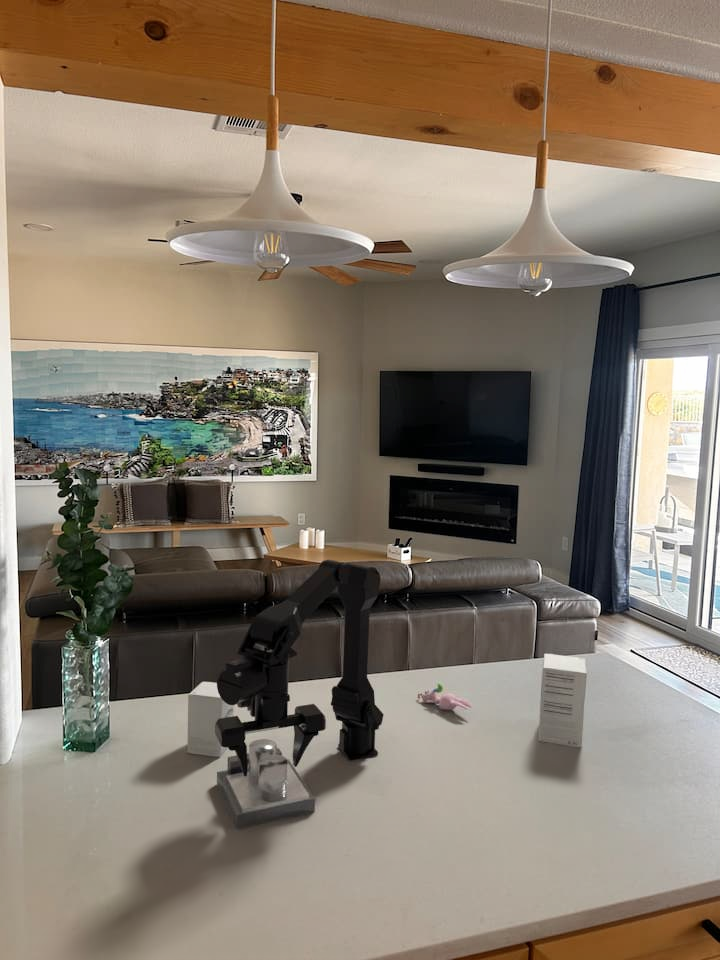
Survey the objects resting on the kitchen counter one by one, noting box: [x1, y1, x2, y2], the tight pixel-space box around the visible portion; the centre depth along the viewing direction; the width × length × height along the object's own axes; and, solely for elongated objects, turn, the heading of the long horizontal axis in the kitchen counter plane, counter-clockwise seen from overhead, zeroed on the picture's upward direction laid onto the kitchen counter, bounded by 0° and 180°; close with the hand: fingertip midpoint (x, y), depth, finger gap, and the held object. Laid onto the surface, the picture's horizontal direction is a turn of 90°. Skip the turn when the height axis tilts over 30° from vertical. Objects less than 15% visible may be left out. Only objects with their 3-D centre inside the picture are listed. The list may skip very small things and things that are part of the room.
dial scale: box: [216, 747, 316, 829], centre depth 130 cm, size 14×15×5 cm
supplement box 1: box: [186, 681, 235, 758], centre depth 148 cm, size 7×7×13 cm
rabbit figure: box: [417, 683, 473, 711], centre depth 171 cm, size 6×6×15 cm
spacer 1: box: [248, 738, 278, 784], centre depth 132 cm, size 5×5×6 cm
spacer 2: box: [258, 754, 288, 802], centre depth 126 cm, size 5×5×6 cm
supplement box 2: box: [538, 653, 588, 748], centre depth 158 cm, size 10×9×17 cm
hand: (270, 770), depth 127 cm, fingers open, 9 cm apart
